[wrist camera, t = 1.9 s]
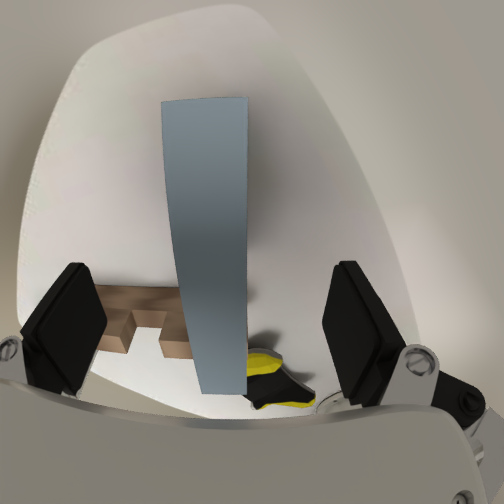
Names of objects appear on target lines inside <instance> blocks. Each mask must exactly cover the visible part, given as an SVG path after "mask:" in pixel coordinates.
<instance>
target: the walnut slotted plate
mask: <svg viewBox="0 0 504 504" xmlns="http://www.w3.org/2000/svg"><path fill="white" fill-rule="evenodd" d="M95 288H96V290H97V293H98V296H99V298H100V301H101V304H102V306H103V309H104V311H105V314H106V316H107V326H106V329H105V331H104V333H103V335H102V338H101V340H100V342H99V344H98V347H97V349H96V350H102V351H109V352H116V353H124V354H127V353H128V350H129V347H130V344H131V341H132V339H133V336H134V333H135V331H136V328H137V327H149V328H162V330H161V334H160V337H159V343H160V346H161V349H162V352H163V355H164V358H179V359H193V355H192V351H191V346H190V342H189V337H188V332H187V327H186V322H185V317H184V312H183V307H182V301H181V296H180V290H179V288H170V287H133V286H108V285H95ZM247 360H248V327H247Z"/></svg>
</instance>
